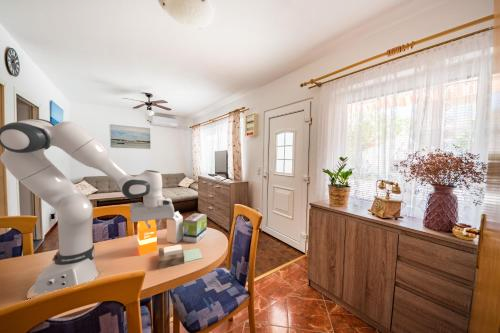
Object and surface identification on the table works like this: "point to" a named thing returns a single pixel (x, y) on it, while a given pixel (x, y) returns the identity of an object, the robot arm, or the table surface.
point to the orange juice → (147, 237)
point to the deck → (170, 259)
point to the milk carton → (175, 228)
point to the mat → (192, 254)
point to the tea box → (194, 227)
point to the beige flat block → (172, 250)
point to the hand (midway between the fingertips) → (153, 227)
